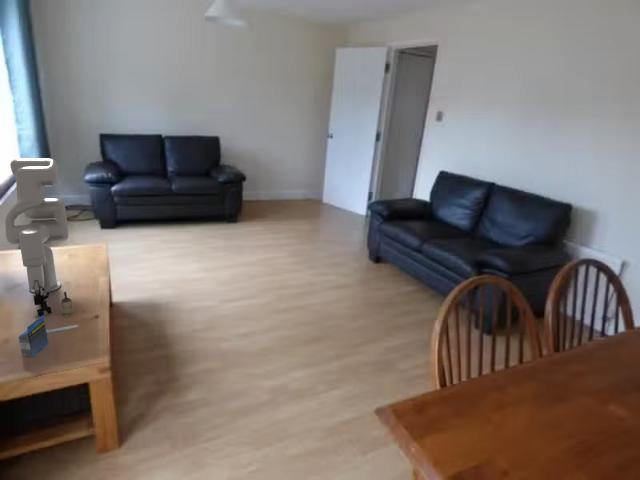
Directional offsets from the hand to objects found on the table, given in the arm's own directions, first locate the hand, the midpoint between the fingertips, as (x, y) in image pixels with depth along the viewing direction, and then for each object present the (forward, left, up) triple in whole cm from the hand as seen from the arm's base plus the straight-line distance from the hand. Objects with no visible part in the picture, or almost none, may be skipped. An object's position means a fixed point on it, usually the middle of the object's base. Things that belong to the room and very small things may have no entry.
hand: (40, 299), depth 171 cm
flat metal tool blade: (+15, +6, -7) cm, 17 cm away
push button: (-1, 0, -8) cm, 8 cm away
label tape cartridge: (+26, -2, -8) cm, 27 cm away
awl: (+2, +9, -7) cm, 12 cm away
